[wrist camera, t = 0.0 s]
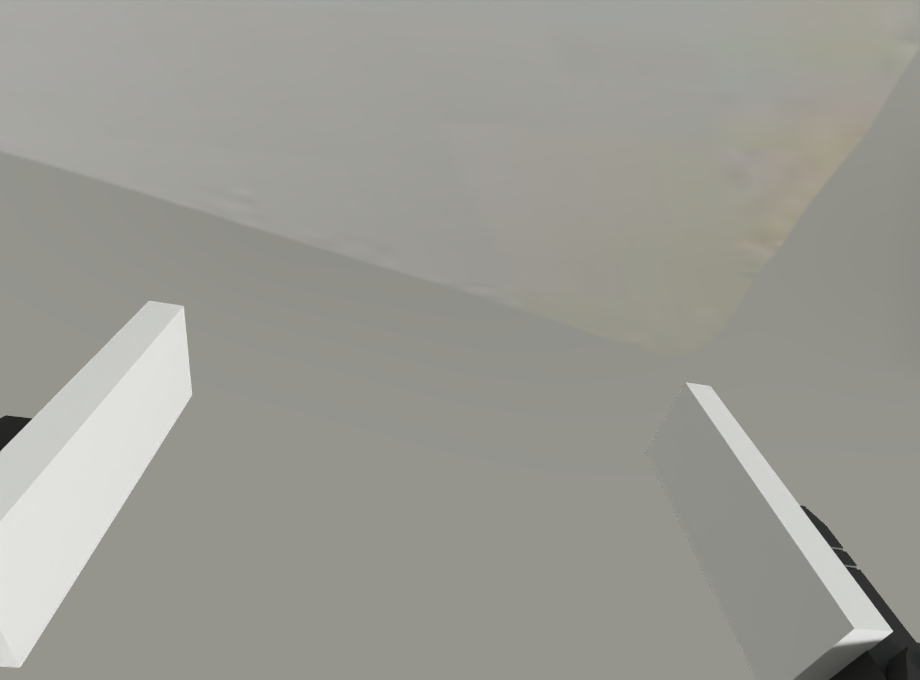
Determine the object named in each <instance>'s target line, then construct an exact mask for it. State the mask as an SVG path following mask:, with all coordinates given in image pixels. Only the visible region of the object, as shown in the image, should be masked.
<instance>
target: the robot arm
mask: <svg viewBox="0 0 920 680" xmlns="http://www.w3.org/2000/svg"><path fill="white" fill-rule="evenodd" d="M191 396H192V389H191V378H190V368H189V356H188V346H187V335H186V325H185V314H184V306H181V305H175V304H168V303H161V302H155V301H148V302H147V303H146V305H144V306H143V307H142V308H141V309H140V310H139V312H137V314H135V316H134V317H133V318H132V319H131V320H130V321H129V322H128V323H127V324H126V325H125V326H124V327H123V328H122V329H121V330H120V331H119V332H118V333H117V334H116V335H115V336H114V337H113V338H112V339H111V340H110V341H109V342H108V343H107V344H106V345H105V346H104V347H103V348H102V349H101V350H100V351H99V352H98V353H97V354H96V355H95V356H94V357H93V358H92V359H91V360H90V361H89V362H88V363H87V364H86V365H85V366H84V367H83V368H82V369H81V370H80V371H79V372H78V373H77V374H76V375H75V376H74V377H73V378H72V379H71V380H70V381H69V382H68V383H67V384H66V386H64V387H63V388H62V389H61V390H60V391H59V392H58V394H56V396H55V397H54V398H53V399H52V400H51V401H50V402H49V403H48V404H47V405H46V406H45V407H44V408H43V409H42V410H41V411H40V412H39V413H38V414H37V415H36V416H35V417H34V418H33V419H32V418H23V417H14V416H4V417H2V418H0V667H21V665H22V664H23V662H24V660H25V659H26V658H27V656H28V654H29V653H30V651H31V650H32V648H33V646H34V645H35V643H36V642H37V640H38V638H39V637H40V635H41V634H42V632H43V630H44V629H45V627H46V626H47V624H48V623H49V621H50V619H51V618H52V616H53V615H54V613H55V611H56V610H57V608H58V607H59V605H60V604H61V602H62V600H63V599H64V597H65V596H66V594H67V592H68V591H69V589H70V588H71V586H72V584H73V583H74V581H75V580H76V578H77V577H78V575H79V573H80V572H81V570H82V569H83V567H84V566H85V564H86V562H87V561H88V559H89V558H90V556H91V554H92V553H93V551H94V550H95V548H96V547H97V545H98V543H99V542H100V540H101V539H102V537H103V535H104V534H105V532H106V531H107V529H108V527H109V526H110V524H111V523H112V521H113V519H114V518H115V516H116V515H117V513H118V511H119V510H120V508H121V507H122V505H123V504H124V502H125V500H126V499H127V497H128V496H129V494H130V492H131V491H132V489H133V488H134V486H135V485H136V483H137V481H138V480H139V478H140V477H141V475H142V474H143V472H144V470H145V469H146V467H147V466H148V464H149V462H150V461H151V459H152V457H153V456H154V454H155V453H156V451H157V450H158V448H159V447H160V445H161V443H162V442H163V440H164V439H165V437H166V435H167V434H168V432H169V431H170V429H171V428H172V426H173V424H174V423H175V421H176V420H177V418H178V416H179V415H180V413H181V412H182V410H183V409H184V407H185V405H186V404H187V402H188V401H189V399H190V397H191ZM645 453H646V455H647V457H648V459H649V461H650V463H651V465H652V467H653V470H654V472H655V474H656V476H657V478H658V480H659V482H660V484H661V486H662V488H663V490H664V492H665V494H666V496H667V498H668V500H669V503H670V505H671V507H672V508H673V511H674V513H675V515H676V517H677V519H678V521H679V523H680V525H681V527H682V529H683V531H684V533H685V535H686V538H687V540H688V542H689V543H690V546H691V548H692V550H693V552H694V554H695V556H696V558H697V560H698V562H699V564H700V566H701V568H702V571H703V572H704V574H705V577H706V578H707V581H708V583H709V585H710V587H711V589H712V591H713V593H714V595H715V597H716V599H717V601H718V604H719V606H720V607H721V610H722V612H723V614H724V616H725V618H726V620H727V621H728V624H729V626H730V628H731V630H732V632H733V634H734V636H735V639H736V641H737V643H738V645H739V647H740V649H741V651H742V653H743V655H744V657H745V659H746V661H747V663H748V665H749V667H750V669H751V672H752V674H753V676H754V678H755V680H920V643H917V642H916V641H915V640H914V639H913V638H912V636H911V635H910V634H909V633H908V631H907V630H906V629H905V628H904V626H903V625H902V624H901V622H900V621H899V620H898V619H897V617H896V616H895V614H894V613H893V612H892V611H891V609H890V608H889V607H888V605H887V604H886V603H885V602H884V600H883V599H882V598H881V596H880V595H879V594H878V592H877V591H876V590H875V588H874V587H873V586H872V585H871V583H870V582H869V581H868V580H867V578H866V577H865V575H864V574H863V573H862V572H861V570H857V568H856V564H855V562H854V561H853V560H852V559H851V557H850V556H849V555H848V553H847V552H844V551H843V550H842V549H843V547H842V546H841V544H840V543H839V542H838V541H837V539H836V538H835V536H834V535H833V534H832V533H831V531H830V530H829V529H828V527H827V526H826V525H825V524H824V523H823V522H821V521H820V520H819V519H818V518H817V517H816V516H815V515H814V514H812V513H811V512H810V511H809V510H808V509H807V508H806V507H804V506H799V504H798V503H797V502H796V500H795V499H794V498H793V496H792V495H791V494H790V492H789V491H788V490H787V488H786V487H785V486H784V484H783V483H782V482H781V480H780V479H779V478H778V476H777V475H776V474H775V472H774V471H773V470H772V468H771V467H770V466H769V465H768V463H767V462H766V460H765V459H764V457H763V456H762V455H761V454H760V452H759V451H758V449H757V448H756V447H755V445H754V444H753V443H752V441H751V440H750V439H749V437H748V436H747V435H746V433H745V432H744V431H743V429H742V428H741V427H740V425H739V424H738V423H737V421H736V420H735V419H734V417H733V416H732V415H731V413H730V412H729V411H728V409H727V408H726V407H725V405H724V404H723V403H722V401H721V400H720V399H719V397H718V396H717V395H716V393H715V392H714V390H713V389H712V388H711V387H710V386H705V385H699V384H692V383H685V384H684V386H683V388H682V390H681V391H680V393H679V395H678V396H677V398H676V400H675V402H674V403H673V405H672V407H671V409H670V410H669V412H668V414H667V416H666V417H665V419H664V421H663V423H662V424H661V426H660V428H659V429H658V432H657V433H656V435H655V436H654V438H653V440H652V442H651V443H650V445H649V447H648V449H647V450H646V452H645Z"/></svg>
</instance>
